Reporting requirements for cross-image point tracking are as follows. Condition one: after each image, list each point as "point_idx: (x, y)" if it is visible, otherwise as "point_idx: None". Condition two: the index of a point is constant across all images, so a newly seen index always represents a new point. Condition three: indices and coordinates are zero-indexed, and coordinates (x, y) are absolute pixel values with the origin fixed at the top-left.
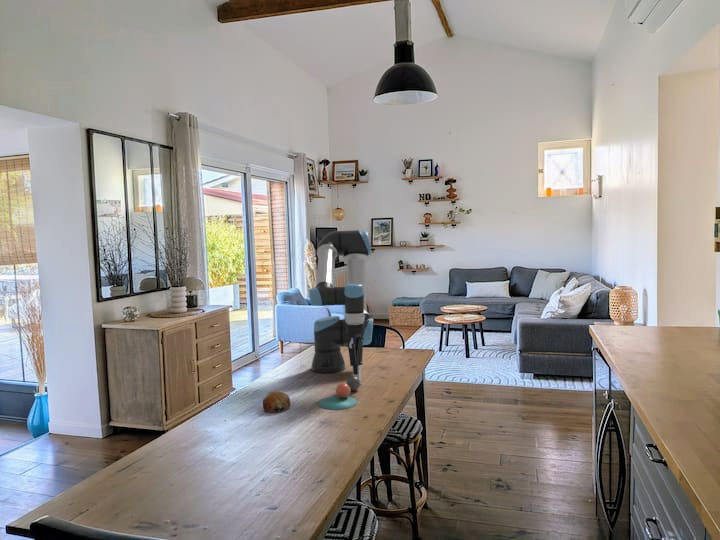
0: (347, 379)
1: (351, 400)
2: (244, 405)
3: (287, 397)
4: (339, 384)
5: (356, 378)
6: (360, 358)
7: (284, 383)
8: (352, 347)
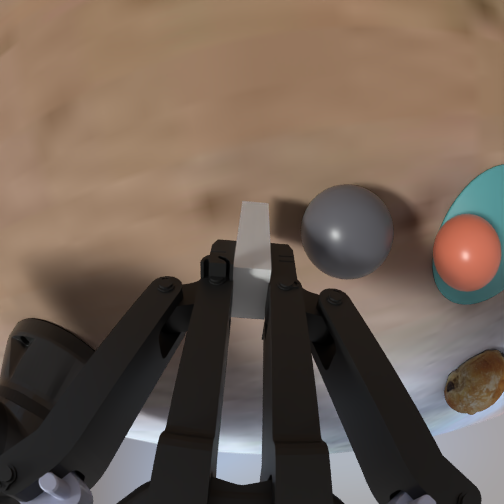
0: (354, 278)
1: (488, 192)
2: (431, 418)
3: (497, 375)
4: (479, 287)
5: (373, 226)
6: (198, 312)
7: (258, 426)
8: (453, 479)
